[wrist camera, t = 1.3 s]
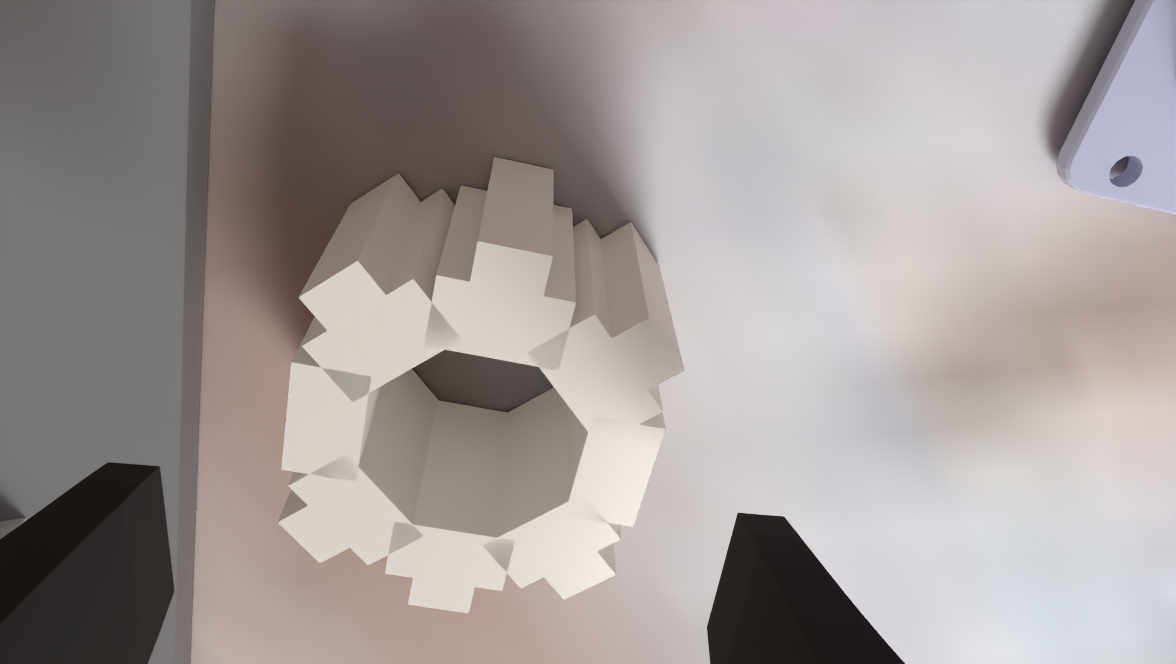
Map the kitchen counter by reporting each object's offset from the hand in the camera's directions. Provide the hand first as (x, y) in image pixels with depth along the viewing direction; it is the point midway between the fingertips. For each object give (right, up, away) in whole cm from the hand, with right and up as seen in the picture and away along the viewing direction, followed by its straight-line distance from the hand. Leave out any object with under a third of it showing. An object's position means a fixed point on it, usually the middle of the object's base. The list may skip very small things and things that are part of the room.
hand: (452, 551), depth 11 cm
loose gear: (0, +3, +5) cm, 6 cm away
